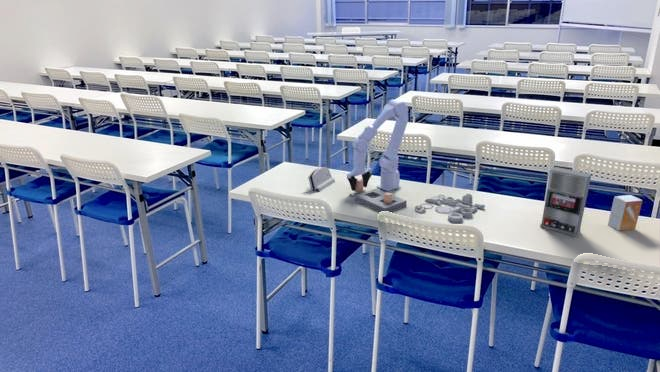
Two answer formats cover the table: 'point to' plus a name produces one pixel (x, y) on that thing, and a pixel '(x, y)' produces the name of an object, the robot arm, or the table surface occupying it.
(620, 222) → the small box
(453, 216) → the robot parts
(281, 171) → the table surface
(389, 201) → the fitted pink peg
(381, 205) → the housing
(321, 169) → the hinge
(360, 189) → the pink rounded capsule
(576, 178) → the cassette tape recorder
